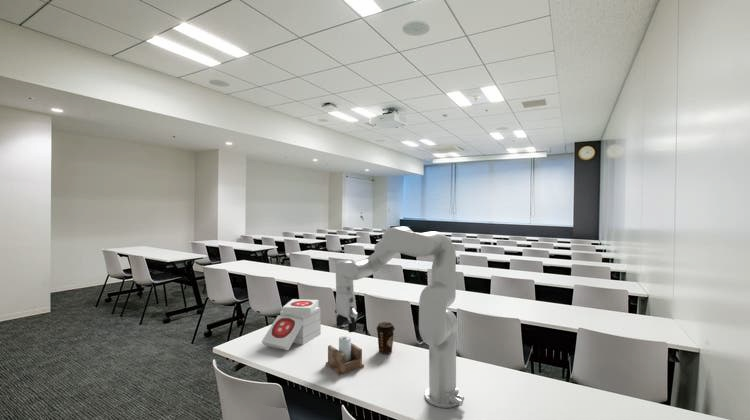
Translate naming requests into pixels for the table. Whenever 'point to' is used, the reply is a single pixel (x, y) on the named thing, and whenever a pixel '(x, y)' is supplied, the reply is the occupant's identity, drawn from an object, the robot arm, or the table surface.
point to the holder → (338, 360)
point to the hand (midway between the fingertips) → (345, 328)
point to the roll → (345, 347)
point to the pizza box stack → (295, 324)
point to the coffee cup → (385, 337)
